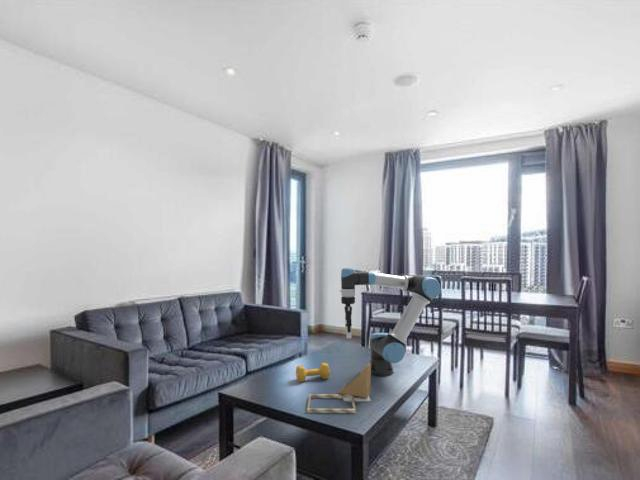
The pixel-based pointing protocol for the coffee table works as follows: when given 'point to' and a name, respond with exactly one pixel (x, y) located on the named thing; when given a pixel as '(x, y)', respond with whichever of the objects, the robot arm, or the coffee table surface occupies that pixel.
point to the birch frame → (319, 410)
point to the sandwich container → (359, 384)
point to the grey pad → (357, 398)
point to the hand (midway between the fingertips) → (348, 335)
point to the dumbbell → (312, 372)
